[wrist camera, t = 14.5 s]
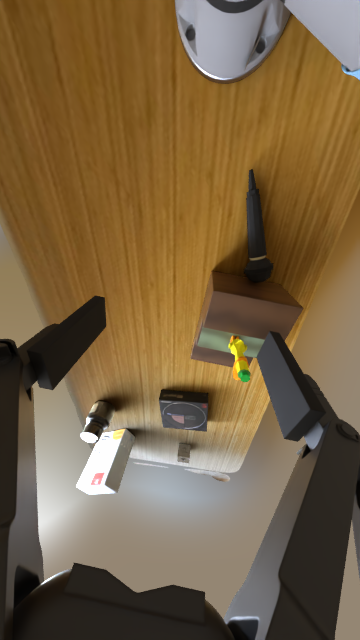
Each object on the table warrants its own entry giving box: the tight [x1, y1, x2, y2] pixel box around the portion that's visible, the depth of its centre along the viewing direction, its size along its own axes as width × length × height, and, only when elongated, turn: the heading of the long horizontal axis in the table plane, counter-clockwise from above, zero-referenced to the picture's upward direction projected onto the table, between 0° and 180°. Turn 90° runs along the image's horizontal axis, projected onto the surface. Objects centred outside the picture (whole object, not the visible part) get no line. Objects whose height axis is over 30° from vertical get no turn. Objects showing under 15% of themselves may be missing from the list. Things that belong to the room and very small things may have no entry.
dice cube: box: [178, 443, 190, 463], centre depth 83 cm, size 5×5×5 cm
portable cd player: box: [159, 390, 208, 432], centre depth 68 cm, size 16×17×4 cm
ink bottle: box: [80, 401, 115, 443], centre depth 71 cm, size 10×9×12 cm
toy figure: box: [229, 336, 250, 382], centre depth 37 cm, size 7×4×12 cm, turn 178°
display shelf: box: [190, 271, 303, 367], centre depth 44 cm, size 24×16×12 cm, turn 171°
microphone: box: [244, 169, 273, 283], centre depth 36 cm, size 6×6×20 cm
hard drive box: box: [76, 429, 135, 494], centre depth 78 cm, size 16×8×20 cm, turn 120°
